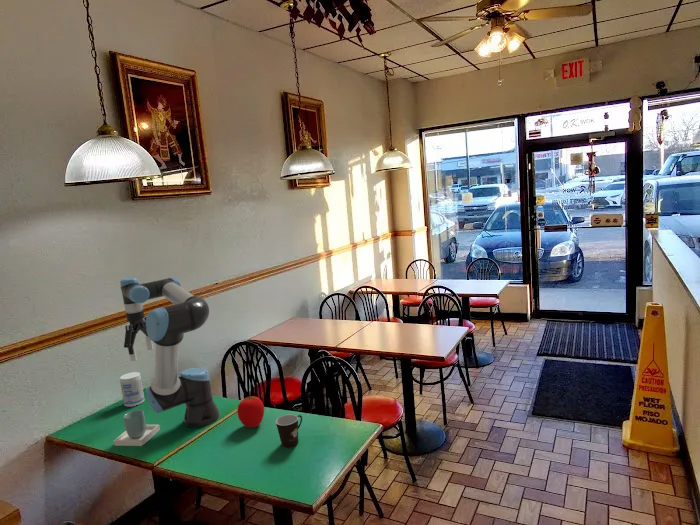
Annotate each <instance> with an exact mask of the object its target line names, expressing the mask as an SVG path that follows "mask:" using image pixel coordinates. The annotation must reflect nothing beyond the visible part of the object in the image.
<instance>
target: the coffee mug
mask: <svg viewBox="0 0 700 525" xmlns="http://www.w3.org/2000/svg"><path fill="white" fill-rule="evenodd" d="M299 418H300V420H299ZM299 421H300V422H299ZM302 422H303V416H302V415H300V414H299V415H295V414H293V413H292V414H284V415H282V416H281V415H280V416H279V417H277V419H276V420H275V424H276V429H277V431H278V436H279V439H280V442H281V447H282V448H285V449H291V448H295V447H296V446H297V445H298V444H299V429H300V427H301V425H302Z"/></svg>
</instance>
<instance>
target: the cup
mask: <svg viewBox="0 0 700 525" xmlns="http://www.w3.org/2000/svg"><path fill="white" fill-rule="evenodd" d="M146 422H147V421H146V418H145V413H144V410H142V409H135V410H131V411H128V412H127V413H125V414H124V415H123V423H124V427H125V428H124V429H125V431H126V432H127V434H128V436H129V437H130V438H139V437H141V436H142V435H143V434H144V433H145V431H146V425H147V424H146Z"/></svg>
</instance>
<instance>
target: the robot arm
mask: <svg viewBox="0 0 700 525" xmlns="http://www.w3.org/2000/svg"><path fill="white" fill-rule="evenodd" d="M181 285H182V284H181V281H180V280H179V279H178V278H177V277H174V276H173V277H168V278H164V279H158V280H154V281H148V282H143V283H140V282H139V279H138V278H137V277H135V276H133V277H126V278H123V279H121V280H120V290H121V295H122V300H123V306H124V311H125V316H126V321H127V322H129V325H125V326H124V328H125V333H124V341H123V342H124V343H123V347H124V348H126V349H127V350H128V355H129V358H130V362H135V361H138V357H137V352H136V347H135V346H134V344H135V339H136V337H137V334H138V332H139V331H141V332H142V334H144V335H145V337H144V338H145V342H146V347H147V351H153V350H154V345H153V343H154V344H155V362H154V363H155V366H154V378H153V379H152V380H151V383H150V385H149V386H147V387H146V388H145V396H146V398H147V401H148V404H149V406H150V409H151V410H152V411H153V413H154V414H159V413H162V412H166V411H168V410H172V409H173V408H176V407H179V406H181V405H185V411H184V412H185V413H184V418H183V421H184V425H185V426H186V427H189V428H200V427H205V426H207V425H210V424H212V423H214V422H215V421H217V420H218V419H219V418H220V411H219V410H220V409H219V407H218V406H217V404H216V403H215V401H214V398H213V392H212V386H211V385H212V384H211V378H210V373H209V371H208V370H207V369H205V368H202V367H194V368H192V367H191V368H187V369H186V368H185V369H183V370H182V371H180V374H179V376H178V370H179V369H178V368H179V352H180V344H181V342H182V341H183V339H184V336H185V333H189V332H192V331H196V330H198V329H199V328H201V327H202V326H204V324H206V322H207V321H208V319H209V315H210V307H209V304H208V302H207V301H206V300H205V299H204V298H202V297H201V296H199V295H193V294H192V293H190V292H189V291H187V290H186V289H184V288H183V287H182V286H181ZM162 297H164V298H166V299H167V300H168V301H169V302H170V303H172V305H168V306H167V305H166V306H163V307H161V306H160V307H157V308H154V309H152V310H150V311H149V312H148V313H147V315H146V316H145V311H144V305H143V303H145V302H146V301H148V300H154V299H156V298H162Z"/></svg>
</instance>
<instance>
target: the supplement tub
mask: <svg viewBox="0 0 700 525" xmlns="http://www.w3.org/2000/svg"><path fill="white" fill-rule="evenodd" d="M141 376H142V375H141V373H140V371H139V372H138V371H133V372H128V373H125V374H122V375H121V376H120V377H119V384H120V389H121V394H122V395H121V396H122V400H123V405H124V407H127V408H129V407H137V406H138V405H141V404H143V402H145V393H144V389H143V388H144V387H143V381H142V377H141ZM136 405H137V406H136Z"/></svg>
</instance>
